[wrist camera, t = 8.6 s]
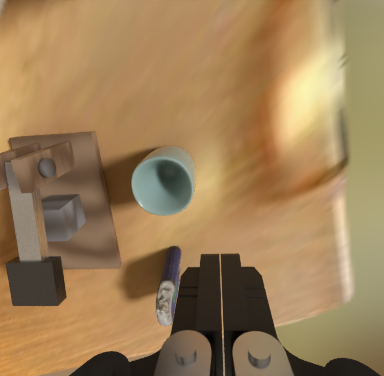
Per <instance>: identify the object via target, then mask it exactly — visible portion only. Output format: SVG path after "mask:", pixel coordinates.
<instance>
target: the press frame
mask: <svg viewBox="0 0 384 376" xmlns="http://www.w3.org/2000/svg"><path fill="white" fill-rule="evenodd" d="M9 139H10V143H11V146H12V149H13V150H10V151H6V152H3V153H0V190H3V189H5V188H7V187H8V182H7V176H6V170H5V163H4V162H11V163H12V166H13V169H14V172H15V175H16V178H17V181H18V184H19V188H20V191H21V193H32V192H34V191H35V190H37V189H39V188H40V195H41V202H42V209H43V216H44V224H45V231H46V238H47V245H48V252H49V256H61V260H62V268H63V269H119V267H120V266H121V264H122V263H121V258H120V253H119V248H118V243H117V238H116V233H115V228H114V223H113V218H112V213H111V208H110V203H109V198H108V193H107V188H106V183H105V178H104V173H103V168H102V163H101V158H100V153H99V148H98V143H97V138H96V133H95V131H94V132H79V133H65V134H50V135H36V136H21V137H13V138H9Z"/></svg>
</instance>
